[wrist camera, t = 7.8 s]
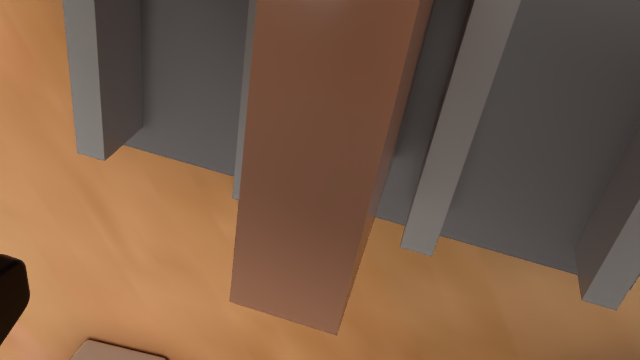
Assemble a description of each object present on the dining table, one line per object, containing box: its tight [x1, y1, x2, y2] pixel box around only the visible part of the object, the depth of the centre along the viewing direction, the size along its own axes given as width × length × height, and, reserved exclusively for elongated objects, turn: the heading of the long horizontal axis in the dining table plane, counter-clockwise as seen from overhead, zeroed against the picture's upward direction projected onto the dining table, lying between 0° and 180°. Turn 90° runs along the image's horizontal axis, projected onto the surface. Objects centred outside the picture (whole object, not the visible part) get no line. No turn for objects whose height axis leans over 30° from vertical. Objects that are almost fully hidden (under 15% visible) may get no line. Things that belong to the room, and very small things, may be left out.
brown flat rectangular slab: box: [230, 0, 435, 335], centre depth 14 cm, size 2×9×8 cm, turn 171°
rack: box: [63, 0, 640, 310], centre depth 16 cm, size 20×14×4 cm
